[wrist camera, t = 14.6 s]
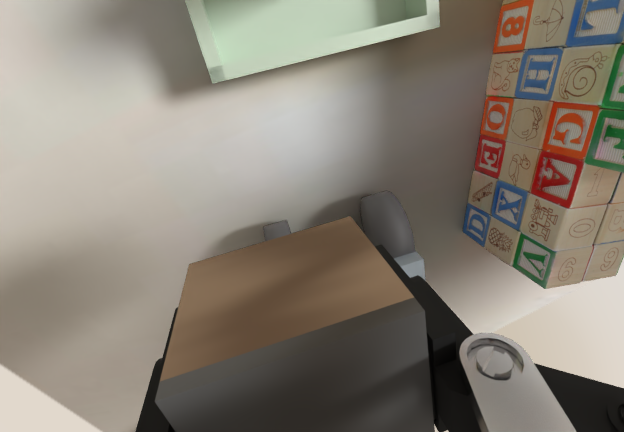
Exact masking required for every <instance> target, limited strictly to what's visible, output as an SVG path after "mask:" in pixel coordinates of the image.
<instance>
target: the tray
mask: <svg viewBox="0 0 624 432" xmlns="http://www.w3.org/2000/svg"><path fill="white" fill-rule="evenodd" d="M185 3H186V6H187V9H188V12H189V15H190V18H191V21H192V24H193V27H194V30H195V33H196V36H197V39H198V42H199V45H200V48H201V51H202V54H203V57H204V60H205V63H206V66H207V69H208V72H209V75H210V78H211V81H212V84H213V83H217V82H221V81H225V80H229V79H233V78H237V77H241V76H245V75H249V74H253V73H257V72H261V71H265V70H269V69H273V68H278V67H282V66H286V65H290V64H294V63H298V62H302V61H306V60H310V59H314V58H318V57H322V56H326V55H330V54H334V53H338V52H342V51H346V50H350V49H354V48H358V47H362V46H366V45H370V44H374V43H378V42H382V41H386V40H390V39H394V38H398V37H402V36H406V35H410V34H414V33H418V32H422V31H426V30H430V29H434V28H438V27H440V12H439V0H185Z"/></svg>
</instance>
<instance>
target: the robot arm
mask: <svg viewBox="0 0 624 432" xmlns="http://www.w3.org/2000/svg"><path fill="white" fill-rule="evenodd" d="M374 247H375V248H376V249H377V250H378V252H379V253H380V254H381V256H382V257H383V258H384V259H385V261H386V262H387V263H388V264H389V266H390V267H391V268H392V270H393V271H394V272H395V273H396V275H397V276H398V277H399V278H400V280H401V281H402V282H403V284H404V285H405V286H406V287H407V289H408V290H409V291H410V292H411V294H412V295H413V296H414V298H415V299H416V300H417V301H418V303H419V304H420V305H421V306H422V308H423V309H424V310H425V319H426V331H427V343H428V356H429V368H430V380H431V393H432V405H433V418H434V424H435V426H436V428H437V430H438V431H439V432H444V431H446V430H448V431H449V432H624V388H620V387H616V386H613V385H609V384H606V383H602V382H598V381H595V380H591V379H587V378H584V377H581V376H577V375H574V374H570V373H566V372H563V371H559V370H556V369H552V368H549V367H545V366H542V365H538V364H535V363H533V361H532V360H531V358H530V356H529V355H528V354H527V352H526V351H525V350H524V349H523V348H522V347H521V346H520V345H519V344H517V343H516V342H514V341H513V340H511V339H509V338H507V337H504V336H502V335H498V334H493V333H479V334H475V335H474V334H473V333H472V332H471V331H470V330H469V329H468V328H467V327H466V326H465V324H464V323H463V322H462V321H461V320H460V319H459V318H458V317H457V316H456V314H455V313H454V312H453V311H452V310H451V309H450V308H449V307H448V306H447V305H446V303H445V302H444V301H443V300H442V299H441V298H440V297H439V296H438V295H437V293H436V292H435V291H434V290H433V289H432V288H431V287H430V286H429V285H428V283H427V282H426V281H425V280H424V279H423V278H422V277H421V276H418V275H417V276H414V277H411V278H410V277H409V276H408V275H407V274H406V273H405V271H404V270H403V269H402V268H401V267H400V265H399V264H398V263H397V262H396V261H395V259H394V258H393V257H392V256H391V255H390V253H389V252H388V251H387V250H386V249H385V248H384V246H383V245H381V244H380V245H377V246H374ZM177 311H178V308H176V310H175V313H174V317H173V321H172V324H171V328H170V332H169V336H168V339H167V343H166V347H165V351H164V354H163V358H161V359H159V360H158V361H157V362H156V364H155V366H154V369H153V372H152V376H151V379H150V383H149V386H148V390H147V393H146V397H145V400H144V404H143V407H142V411H141V414H140V418H139V421H138V425H137V428H136V432H175V430H174V429H173V427H172V426H171V424H170V423H169V422H168V420H167V419H166V417H165V416H164V414H163V413H162V411H161V410H160V409H159V407H158V406H157V404H156V403H155V398H156V394H157V390H158V386H159V382H160V378H161V374H162V370H163V367H164V363H165V359H166V355H167V351H168V347H169V343H170V339H171V335H172V331H173V327H174V323H175V319H176V315H177Z"/></svg>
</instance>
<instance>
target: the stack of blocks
mask: <svg viewBox="0 0 624 432" xmlns="http://www.w3.org/2000/svg"><path fill="white" fill-rule="evenodd" d="M480 134H481V135H480V139H479V145H478V150H477V157H476V162H475V170H474V171H473V174H472V180H471V185H470V191H469V197H468V204H467V208H466V214H465V221H464V226H463V233H465V234H466V235H468V236H469V237H470V238H472V239H473V240H474V241H476V242H477V243H479V244H480V245H481V246H483V247H485V248H486V250H488V251H489V252H491V253H492V254H493V255H495V256H496V257H498V258H499V259H501V260H502V261H503V262H505V263H506V264H508V265H509V266H513V267H514V268H515V269H517V270H518V271H519V272H521V273H522V274H524V275H525V276H527V277H528V278H530V279H531V280H532V281H534V282H535V283H537V284H538V285H540V286H541V287H543V288H544V289H548V288H553V287H559V286H565V285H571V284H577V283H580V282H581V281H589V280H595V279H600V278H606V277H611V276H615V275H616V274H617V273H618V270H619V267H620V265H621V262H622V260H623V257H624V0H503V4H502V7H501V10H500V15H499V21H498V26H497V32H496V38H495V43H494V49H493V56H492V60H491V65H490V70H489V76H488V82H487V88H486V101H485V108H484V113H483V119H482V125H481V130H480Z"/></svg>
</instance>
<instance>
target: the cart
mask: <svg viewBox="0 0 624 432" xmlns="http://www.w3.org/2000/svg"><path fill="white" fill-rule="evenodd" d="M360 212H361V219H362V224H363V228H364V232H365V235H366V236H367V238H368V239H369V240H370V242H371V243H372V244H373V245H374V246H377V245H380V244H381V245H383V246H384V248H385V249H386V250H387V251H388V252H389V253H390V255H391V256H392V257H393V258H394V259H395V261H396V262H397V263H398V264H399V265H400V267H401V268H402V269H403V270H404V271H405V273H406V274H407V275H408V276H409V277H410V278H411V277H414V276H417V275H418V276H421V277H422V278H423V279H424V280H425V268H424V259H423V258H422V257H421V256H420V255H419V254H418V253H417V252H416V251H415V245H414V239H413V234H412V230H411V227H410V223H409V221H408V218H407V216H406V213H405V211H404V209H403V207H402V205H401V204H400V202H399V201H398V199H397V198H396V197H395V195H394V194H392V193H391V192H390V191H383V192H380V193H376V194H373V195H370V196H366V197H363V198H362V199H361V203H360ZM263 230H264V236H265V240H266V241H268V240H272V239H275V238H279V237H282V236H285V235H289V234H291V232H290V229H289V226H288V222H287V220H284V221H281V222H277V223H274V224H271V225H267V226H264V227H263Z"/></svg>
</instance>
